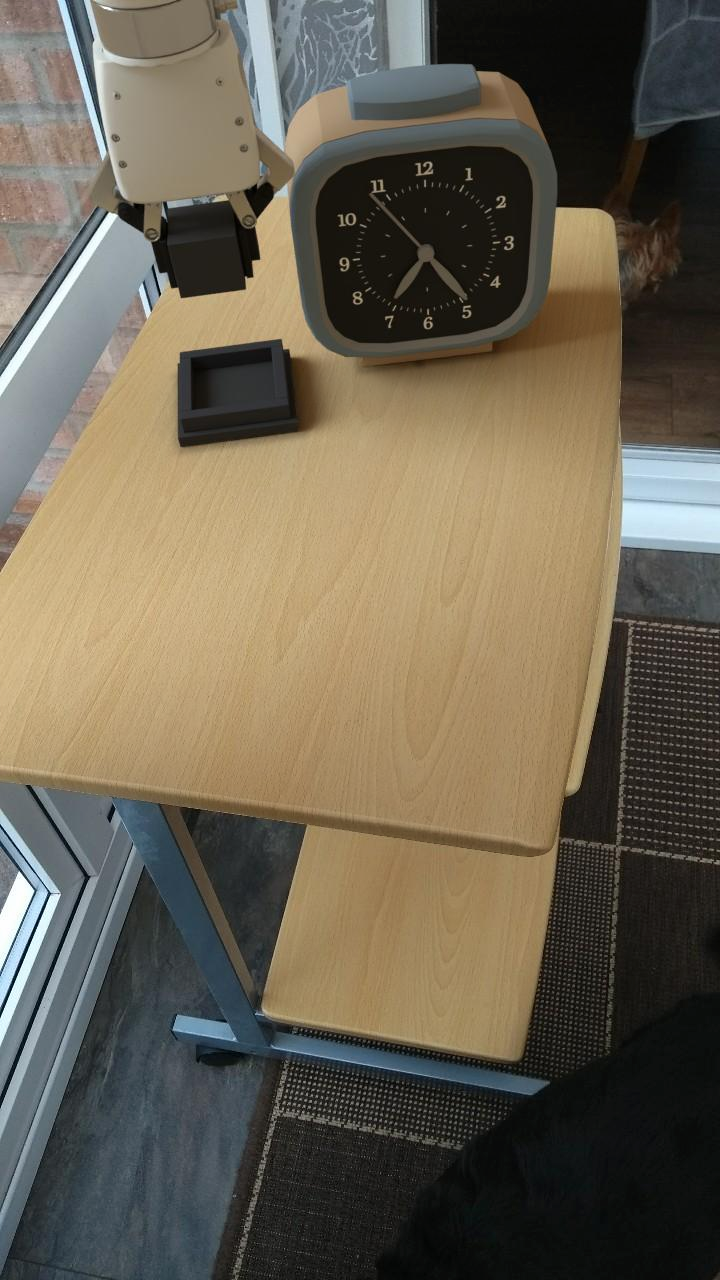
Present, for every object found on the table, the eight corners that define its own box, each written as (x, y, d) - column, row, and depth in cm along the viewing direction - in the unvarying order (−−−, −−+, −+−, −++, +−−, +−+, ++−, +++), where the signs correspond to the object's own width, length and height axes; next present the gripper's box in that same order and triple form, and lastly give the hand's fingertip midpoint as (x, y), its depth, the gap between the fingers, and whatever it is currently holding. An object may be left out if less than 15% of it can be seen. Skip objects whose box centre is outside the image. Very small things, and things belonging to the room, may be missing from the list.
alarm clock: (312, 380, 89) (278, 133, 72) (305, 315, 95) (272, 72, 78) (545, 352, 89) (567, 98, 72) (524, 289, 95) (540, 40, 78)
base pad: (180, 447, 85) (173, 423, 83) (179, 372, 91) (173, 349, 89) (299, 431, 85) (295, 407, 83) (290, 357, 91) (287, 334, 89)
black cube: (180, 298, 77) (167, 244, 74) (180, 261, 80) (167, 208, 77) (246, 290, 77) (235, 235, 74) (243, 253, 80) (233, 199, 77)
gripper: (286, -26, 66) (317, 231, 81) (26, 9, 66) (104, 260, 81) (294, 23, 62) (326, 286, 76) (16, 61, 62) (100, 317, 76)
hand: (211, 270), depth 78 cm, fingers closed on black cube, 5 cm apart
